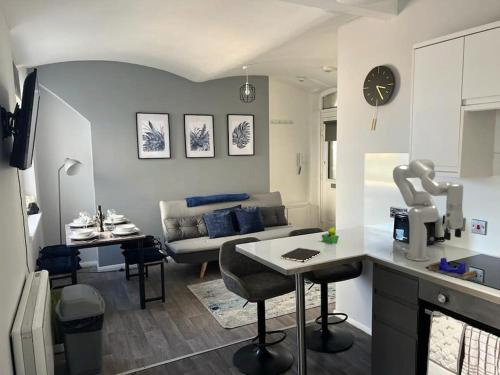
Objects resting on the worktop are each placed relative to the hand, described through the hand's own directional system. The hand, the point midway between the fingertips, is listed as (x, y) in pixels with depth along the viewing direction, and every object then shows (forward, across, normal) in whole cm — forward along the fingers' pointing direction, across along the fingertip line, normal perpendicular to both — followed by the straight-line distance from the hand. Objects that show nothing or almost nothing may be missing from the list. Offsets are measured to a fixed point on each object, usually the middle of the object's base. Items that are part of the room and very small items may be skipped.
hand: (452, 238), depth 202 cm
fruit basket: (+20, -6, +86) cm, 88 cm away
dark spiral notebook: (+20, -46, +70) cm, 87 cm away
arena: (+19, -1, -1) cm, 19 cm away
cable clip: (+18, -1, -1) cm, 18 cm away
